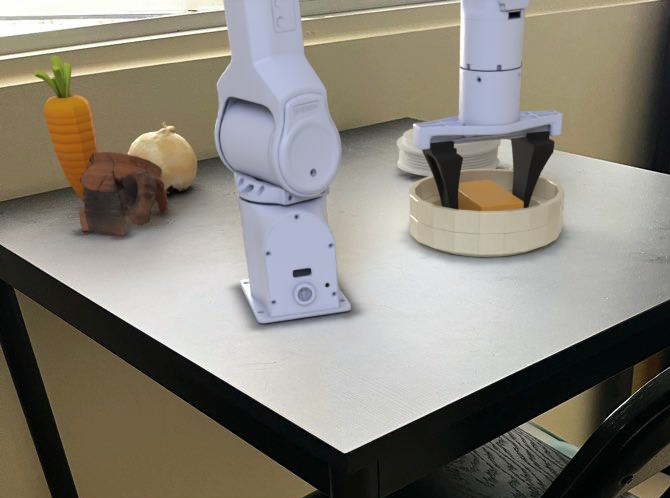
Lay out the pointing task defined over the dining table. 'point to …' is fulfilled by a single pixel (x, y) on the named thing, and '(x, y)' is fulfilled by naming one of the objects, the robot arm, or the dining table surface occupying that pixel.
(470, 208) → the orange rectangular block
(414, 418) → the dining table surface
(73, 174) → the carrot
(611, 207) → the dining table surface
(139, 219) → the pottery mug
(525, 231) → the bowl
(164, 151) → the onion
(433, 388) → the dining table surface
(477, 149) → the lid
